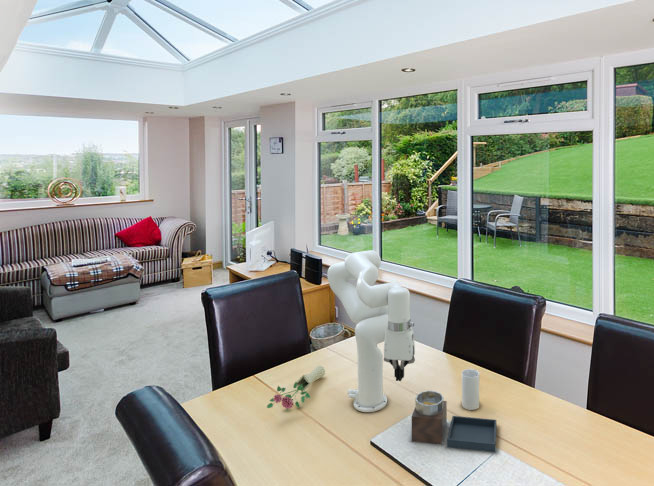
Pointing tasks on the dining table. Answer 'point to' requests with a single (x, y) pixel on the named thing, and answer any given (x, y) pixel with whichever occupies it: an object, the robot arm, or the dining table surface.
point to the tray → (472, 434)
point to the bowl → (431, 398)
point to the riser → (429, 427)
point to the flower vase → (298, 388)
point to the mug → (470, 389)
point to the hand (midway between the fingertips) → (399, 379)
